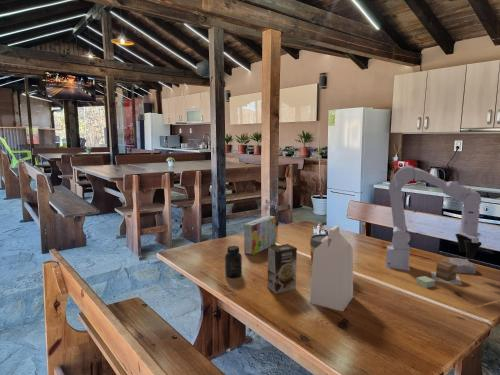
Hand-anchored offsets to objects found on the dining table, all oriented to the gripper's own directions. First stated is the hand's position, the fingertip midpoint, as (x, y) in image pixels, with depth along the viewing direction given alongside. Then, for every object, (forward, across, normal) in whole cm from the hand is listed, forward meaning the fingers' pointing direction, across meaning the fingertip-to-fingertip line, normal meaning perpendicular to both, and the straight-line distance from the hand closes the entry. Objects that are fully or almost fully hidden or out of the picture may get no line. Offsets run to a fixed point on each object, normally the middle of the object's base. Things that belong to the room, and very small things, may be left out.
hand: (466, 255), depth 139 cm
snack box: (+11, +19, +87) cm, 89 cm away
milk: (+10, -30, +52) cm, 61 cm away
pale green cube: (+10, -11, +17) cm, 22 cm away
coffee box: (+10, -24, +70) cm, 75 cm away
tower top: (+6, -2, +7) cm, 10 cm away
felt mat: (+10, -2, +7) cm, 12 cm away
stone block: (+10, +11, -1) cm, 15 cm away
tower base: (+9, -2, +7) cm, 12 cm away
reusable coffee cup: (+10, -6, +55) cm, 56 cm away
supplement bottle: (+10, -16, +91) cm, 93 cm away
